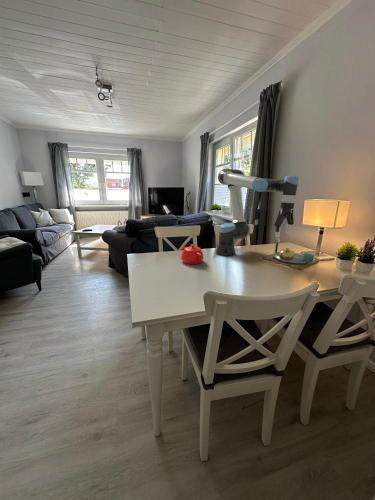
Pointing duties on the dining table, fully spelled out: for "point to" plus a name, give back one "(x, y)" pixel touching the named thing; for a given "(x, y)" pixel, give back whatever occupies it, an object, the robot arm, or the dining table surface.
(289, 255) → the cover
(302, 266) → the plinth
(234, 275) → the dining table surface
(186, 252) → the teapot
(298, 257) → the platter
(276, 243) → the indicator
